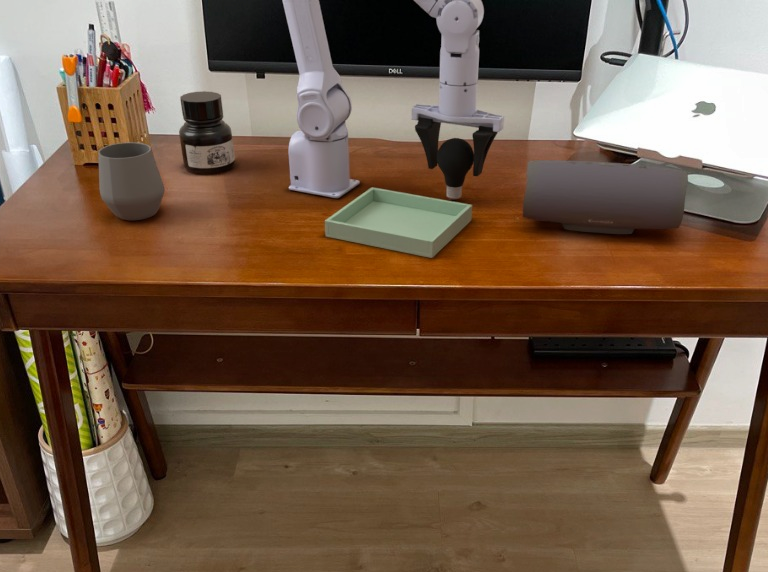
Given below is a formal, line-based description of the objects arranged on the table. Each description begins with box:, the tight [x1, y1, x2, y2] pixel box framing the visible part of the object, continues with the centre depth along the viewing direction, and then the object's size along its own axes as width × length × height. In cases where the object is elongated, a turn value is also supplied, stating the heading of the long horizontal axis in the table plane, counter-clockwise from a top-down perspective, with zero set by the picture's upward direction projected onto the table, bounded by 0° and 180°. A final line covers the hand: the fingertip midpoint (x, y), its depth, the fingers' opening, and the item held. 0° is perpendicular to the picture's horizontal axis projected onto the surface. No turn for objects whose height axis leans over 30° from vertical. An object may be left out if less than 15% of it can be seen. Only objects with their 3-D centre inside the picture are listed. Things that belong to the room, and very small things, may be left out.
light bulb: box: [437, 137, 474, 202], centre depth 131 cm, size 6×6×10 cm
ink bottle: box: [178, 90, 236, 175], centre depth 143 cm, size 10×9×12 cm
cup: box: [97, 141, 165, 222], centre depth 125 cm, size 10×9×10 cm
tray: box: [324, 187, 473, 259], centre depth 124 cm, size 17×15×2 cm
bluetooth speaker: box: [522, 159, 689, 235], centre depth 123 cm, size 23×9×10 cm, turn 80°
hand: (454, 170), depth 131 cm, fingers open, 7 cm apart
